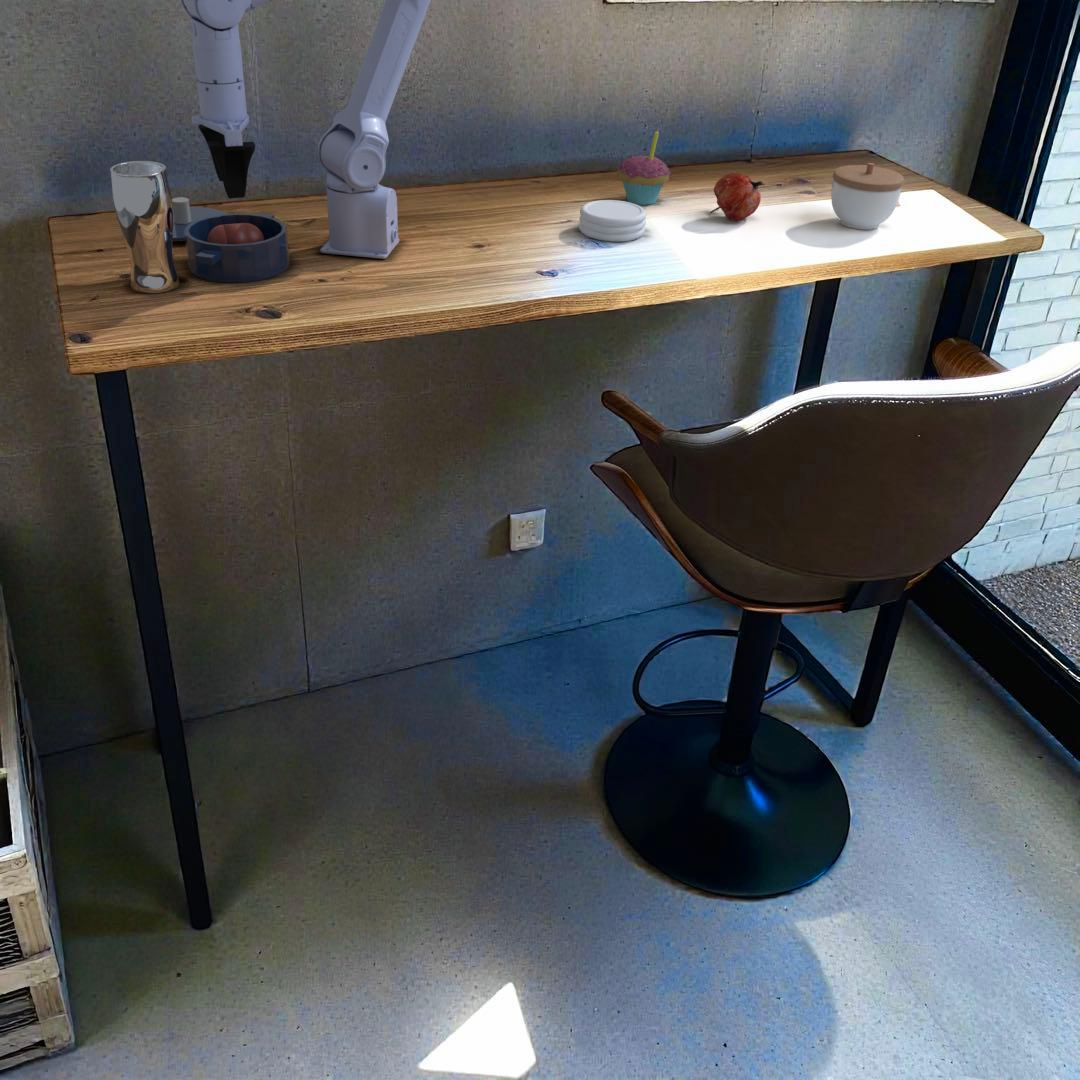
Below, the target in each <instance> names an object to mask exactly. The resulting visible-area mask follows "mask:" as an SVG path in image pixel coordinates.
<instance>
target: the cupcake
mask: <svg viewBox="0 0 1080 1080" xmlns="http://www.w3.org/2000/svg"><path fill="white" fill-rule="evenodd" d="M659 131H660V127H657V130H656V131H655V132H654V135H653V138H652V142H651V147H650V151H649V155H644V154H643V155H640V154H638V155H633V156H629V157H626V159H623V160H622V161H621V162H620V163H619V165H618V166H617V167H618V169H617V171H616V178H617V179H618V180H620V181H621V182H622V185H623V187H624V188H623V189H624V192H625V197H626V200H627V202H629V203H633V204H636V205H639V206H640V205H641V206H642V205H643V206H649V205H653V204H655V203H656V202H657V200H658V197H659V195H660V192H661V190H662V188H663V186H664V184H666V183H667V182H669V180H670V179H669V178H670V176H671V173H672V172H671V170H670V168H669V166H668V165H667V164H666V163H665V162H664V161H663V160H661V158H658V157H656V156H655V151H656V147H657V142H658V139H659V134H660V132H659Z"/></svg>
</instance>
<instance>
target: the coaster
mask: <svg viewBox="0 0 1080 1080" xmlns="http://www.w3.org/2000/svg"><path fill="white" fill-rule="evenodd" d="M579 214H580V216H579V224H578V228H579V229H578V230H579V231H580V232H581V233H582V234H583V235H585V236H586V237H589V238H591V239H594V240H597V241H604V242H613V243H618V242H620V243H621V242H630V241H634V240H637V239H640V238H641V237H643V235H645V232H646V224H647V222H646V218H647V211H646V210H645V209H644V207H642V206H640V205H639V204H634V203H631V202H629V201H624V200H617V199H616V200H614V199H600V200H593V201H588V202H587V203H585V204H583V205H582V206H581V207H580V209H579Z"/></svg>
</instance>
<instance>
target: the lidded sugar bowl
mask: <svg viewBox="0 0 1080 1080" xmlns="http://www.w3.org/2000/svg"><path fill="white" fill-rule="evenodd" d="M904 182H905V178H904V176H903V175H902V174H900V173H899V172H897V171H895V170H892V169H889V168H885V167H881V166H880V167H879V166H875V163H873V162H868V163H867V164H850V165H849V164H848V165H843V166H839V167H836V168H835V169H834V170H833V174H832V184H831V192H830V193H831V194H830V197H831V198H830V199H831V205H832V210H833V212H834V214H835V215H836V217H837V218H838V219H839V223H840V224H841V225H842V226H844V227H848V228H851V229H856V230H862V231H864V230H866V231H867V230H875V229H878V228H879V227H880V225H881V224H884V222H886V221H887V220H888V219H889V218H890V217H891V216H892V214H893V213H894V211H895V210H896V207H897V205H898V203H899V200H900V196H901V192H902V188H903V186H904Z"/></svg>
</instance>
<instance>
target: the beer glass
mask: <svg viewBox="0 0 1080 1080" xmlns="http://www.w3.org/2000/svg"><path fill="white" fill-rule="evenodd" d="M109 171H110V178H111V179H110V180H111V190H112V191H111V192H112V199H113V200H112V201H113V206H114V212H115V216H116V220H117V223H118V226H119V229H120V233H121V235H122V239H123V242H124V244H125V246H126V250H127V253H128V258H129V263H130V276H129V277H130V279H129V280H130V281H129V283H130V288H131V289H132V290H134V291H135V292H138V293H142V294H161V293H166V292H170V291H173V290H174V289H176V288H178V287H179V285H180V277H179V274H178V271H177V269H176V265H175V261H174V255H173V254H174V253H173V242H174V241H173V203H172V199H173V196H172V191H171V186H170V181H169V177H168V171H167V166H166V165H165V164H164V163H161V162H157V161H151V160H132V161H125V162H120V163H117V164H115V165H113V166H111V167H110V168H109Z"/></svg>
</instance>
